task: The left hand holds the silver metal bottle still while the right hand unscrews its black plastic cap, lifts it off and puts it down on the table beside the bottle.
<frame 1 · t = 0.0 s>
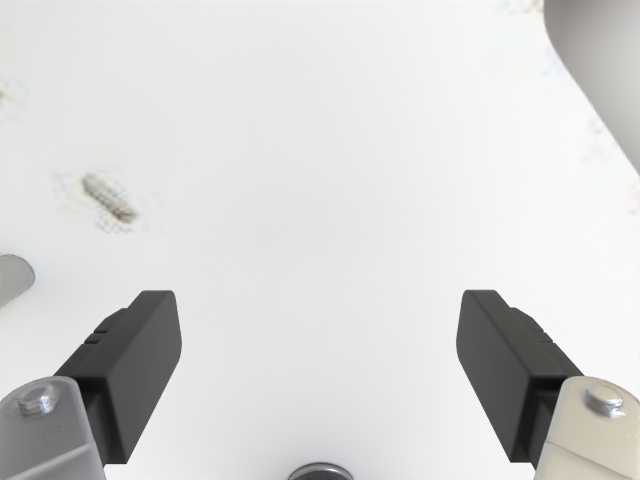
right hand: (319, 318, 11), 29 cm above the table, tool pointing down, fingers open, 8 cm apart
bottle: (14, 273, 43), on the table
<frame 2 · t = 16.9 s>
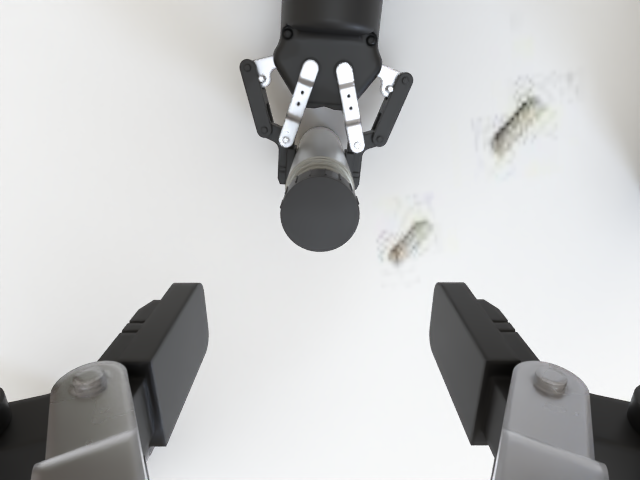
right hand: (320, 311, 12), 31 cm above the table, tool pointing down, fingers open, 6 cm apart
left hand: (318, 190, 36), fingers closed on bottle, 4 cm apart
cap: (319, 213, 20), point 22 cm above the table, screwed on, not yet turned
bottle: (320, 148, 41), on the table, touching left hand
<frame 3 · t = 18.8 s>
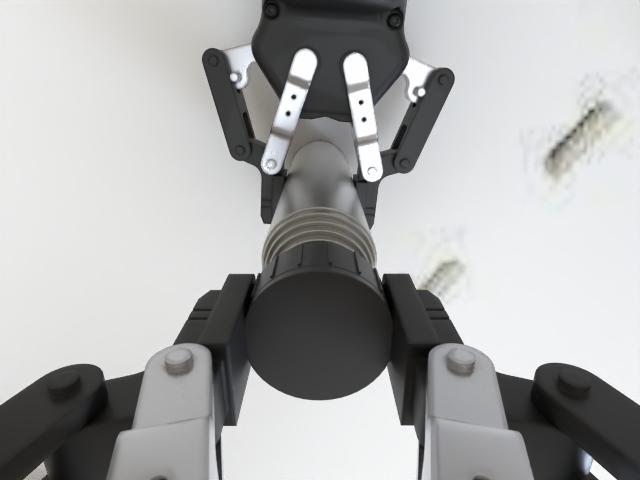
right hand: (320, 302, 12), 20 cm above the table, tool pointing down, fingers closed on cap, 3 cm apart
left hand: (316, 231, 26), fingers closed on bottle, 4 cm apart
cap: (319, 333, 11), point 22 cm above the table, screwed on, not yet turned, touching right hand
bottle: (319, 169, 31), on the table, touching left hand
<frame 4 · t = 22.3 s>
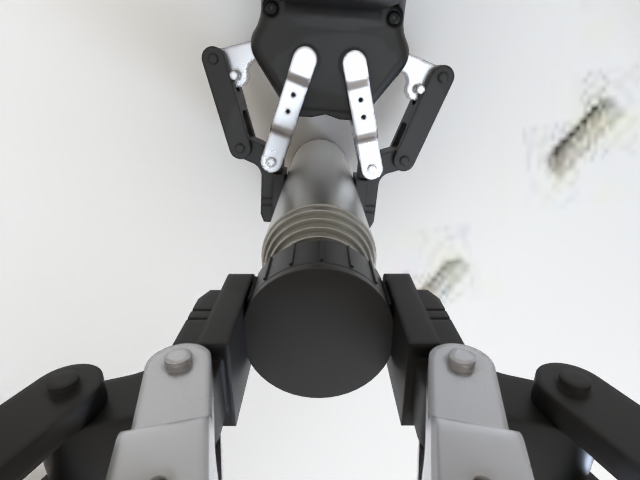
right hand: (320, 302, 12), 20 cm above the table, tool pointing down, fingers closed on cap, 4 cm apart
left hand: (316, 229, 26), fingers closed on bottle, 4 cm apart
cap: (318, 331, 11), point 22 cm above the table, turned 73° so far, risen 0.1 cm, still on its thread, touching right hand
bottle: (319, 167, 31), on the table, touching left hand
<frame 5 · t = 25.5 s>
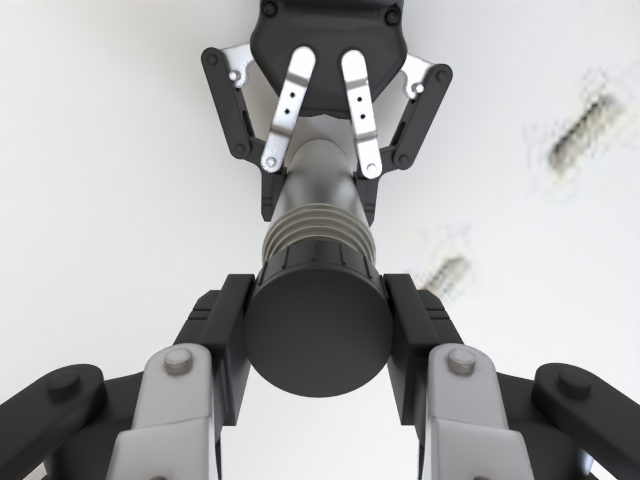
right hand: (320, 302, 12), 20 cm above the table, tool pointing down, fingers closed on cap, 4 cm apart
left hand: (317, 228, 26), fingers closed on bottle, 4 cm apart
cap: (318, 330, 11), point 22 cm above the table, turned 146° so far, risen 0.2 cm, still on its thread, touching right hand
bottle: (319, 167, 31), on the table, touching left hand
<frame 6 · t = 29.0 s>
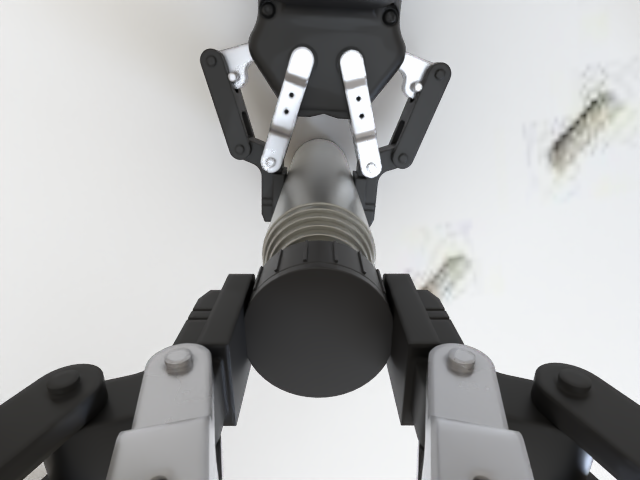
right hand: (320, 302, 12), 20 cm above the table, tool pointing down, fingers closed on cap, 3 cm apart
left hand: (317, 228, 26), fingers closed on bottle, 4 cm apart
cap: (318, 330, 11), point 22 cm above the table, turned 219° so far, risen 0.2 cm, still on its thread, touching right hand
bottle: (319, 166, 31), on the table, touching left hand
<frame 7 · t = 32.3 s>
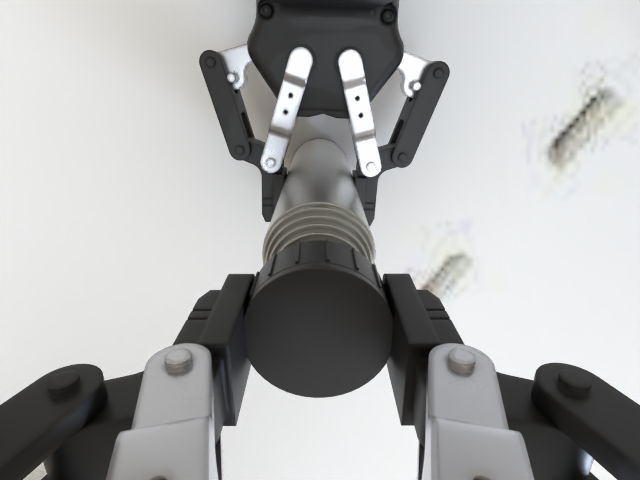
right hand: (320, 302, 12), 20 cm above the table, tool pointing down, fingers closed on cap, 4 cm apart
left hand: (318, 227, 26), fingers closed on bottle, 4 cm apart
cap: (318, 330, 11), point 22 cm above the table, turned 292° so far, risen 0.3 cm, still on its thread, touching right hand
bottle: (319, 166, 31), on the table, touching left hand
when the right hand's fingers open (1 cm above the table, at t = 43.1 s): cap stays where it is, point 2 cm above the table.
when the left hand's fingers open (6 cm above the table, at t = 44.3 s): bottle stays where it is, on the table.
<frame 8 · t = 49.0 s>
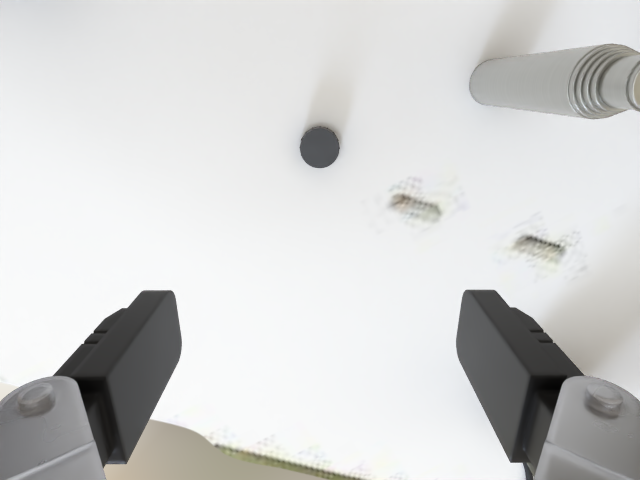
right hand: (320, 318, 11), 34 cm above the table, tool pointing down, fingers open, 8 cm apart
cap: (319, 148, 41), point 2 cm above the table, off its thread
bottle: (490, 82, 40), on the table
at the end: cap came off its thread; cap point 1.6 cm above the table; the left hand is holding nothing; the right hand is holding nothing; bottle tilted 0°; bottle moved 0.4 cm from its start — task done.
